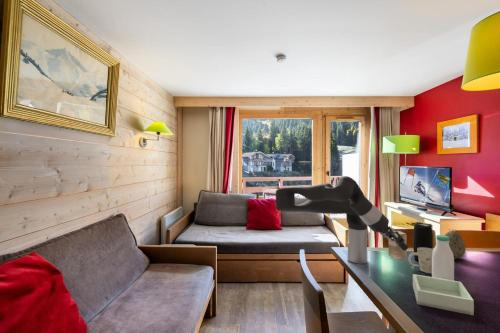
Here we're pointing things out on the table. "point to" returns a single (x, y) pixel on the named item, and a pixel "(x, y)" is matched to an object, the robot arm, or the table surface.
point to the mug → (423, 259)
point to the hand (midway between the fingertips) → (402, 246)
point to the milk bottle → (442, 259)
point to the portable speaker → (422, 237)
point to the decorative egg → (456, 244)
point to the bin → (442, 294)
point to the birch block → (397, 248)
